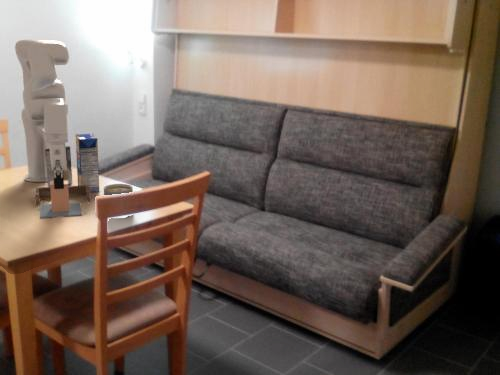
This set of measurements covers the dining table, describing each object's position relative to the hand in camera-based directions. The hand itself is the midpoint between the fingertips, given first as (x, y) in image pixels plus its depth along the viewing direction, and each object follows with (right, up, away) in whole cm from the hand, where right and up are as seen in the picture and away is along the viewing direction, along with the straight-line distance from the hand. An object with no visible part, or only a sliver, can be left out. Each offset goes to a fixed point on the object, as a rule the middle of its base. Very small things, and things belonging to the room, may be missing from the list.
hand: (59, 184), depth 192 cm
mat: (0, -9, +2) cm, 10 cm away
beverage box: (+2, -2, +29) cm, 29 cm away
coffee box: (-11, 0, +33) cm, 35 cm away
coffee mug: (+22, -11, 0) cm, 25 cm away
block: (0, -9, +2) cm, 9 cm away
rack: (-3, -6, +13) cm, 15 cm away
